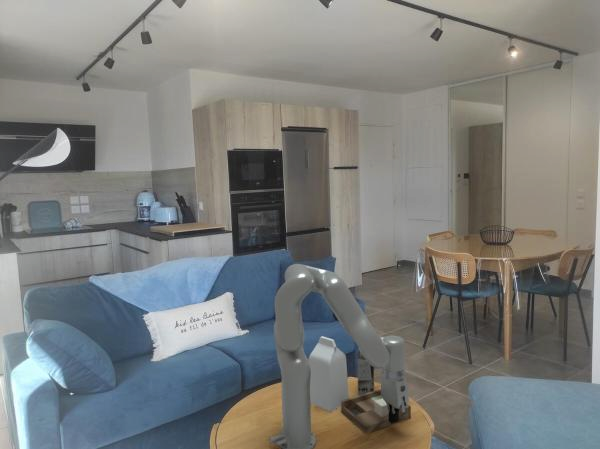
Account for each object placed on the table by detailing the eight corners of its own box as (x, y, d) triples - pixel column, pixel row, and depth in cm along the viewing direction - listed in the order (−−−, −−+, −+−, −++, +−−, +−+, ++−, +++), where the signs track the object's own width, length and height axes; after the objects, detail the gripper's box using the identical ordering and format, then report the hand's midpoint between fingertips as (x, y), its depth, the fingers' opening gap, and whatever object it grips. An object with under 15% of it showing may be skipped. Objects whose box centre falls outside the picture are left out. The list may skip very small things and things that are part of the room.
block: (381, 417, 160) (381, 406, 160) (374, 411, 164) (374, 401, 164) (391, 413, 162) (391, 403, 162) (384, 407, 166) (384, 397, 166)
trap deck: (366, 433, 155) (366, 421, 154) (341, 412, 169) (341, 401, 168) (410, 417, 164) (410, 406, 163) (383, 398, 178) (383, 387, 177)
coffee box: (373, 398, 178) (373, 360, 176) (357, 397, 179) (357, 359, 177) (374, 387, 187) (374, 350, 185) (359, 386, 188) (358, 350, 186)
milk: (307, 401, 177) (305, 339, 174) (325, 390, 185) (324, 330, 182) (331, 412, 169) (329, 346, 166) (349, 400, 177) (348, 337, 174)
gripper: (416, 378, 149) (416, 429, 151) (388, 361, 162) (388, 408, 164) (399, 383, 146) (399, 435, 148) (371, 366, 159) (372, 414, 161)
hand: (393, 421), depth 156 cm, fingers closed
